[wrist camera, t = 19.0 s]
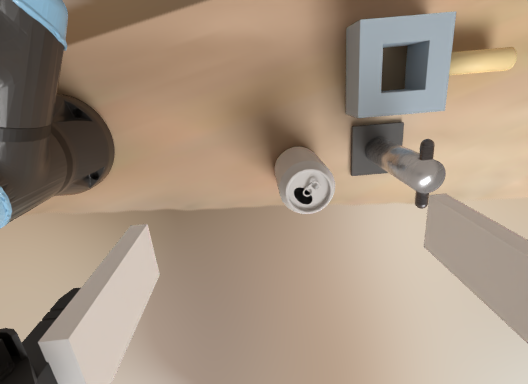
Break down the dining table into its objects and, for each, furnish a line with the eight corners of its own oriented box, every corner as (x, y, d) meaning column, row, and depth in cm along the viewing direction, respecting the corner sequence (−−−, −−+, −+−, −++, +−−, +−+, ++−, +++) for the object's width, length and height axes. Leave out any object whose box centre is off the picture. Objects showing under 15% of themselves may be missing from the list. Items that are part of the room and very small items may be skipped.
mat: (351, 174, 51) (352, 175, 50) (351, 126, 48) (352, 127, 48) (398, 170, 51) (400, 171, 50) (402, 122, 48) (403, 122, 48)
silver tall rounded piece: (364, 175, 50) (407, 212, 36) (365, 124, 48) (413, 142, 34) (387, 173, 51) (441, 209, 36) (391, 122, 48) (450, 138, 34)
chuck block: (345, 114, 48) (358, 118, 42) (346, 27, 44) (360, 19, 38) (485, 102, 48) (516, 104, 42) (499, 15, 44) (536, 4, 38)
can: (264, 169, 50) (268, 194, 39) (296, 135, 49) (309, 151, 37) (297, 198, 52) (309, 229, 41) (328, 166, 50) (350, 190, 39)
